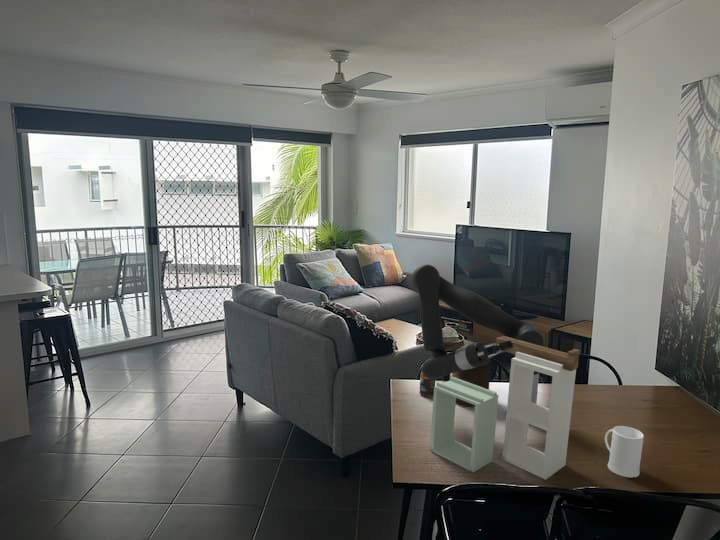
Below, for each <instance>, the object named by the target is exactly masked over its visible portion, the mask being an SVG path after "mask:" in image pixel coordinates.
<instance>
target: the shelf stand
mask: <svg viewBox="0 0 720 540" xmlns="http://www.w3.org/2000/svg"><path fill="white" fill-rule="evenodd" d="M510 362H511V363H510V371H509V372H510V374H509V383H508V384H509V385H508V395H507V403H506V404H507V406H506V418H505V427H504V429H505V430H504V437H503V439H504V440H503V449H502V457H501V458H502V459H501V460H503V461H504V462H507V463H509V464H511V465H512V466H516V467H517V468H520V469H522V470H523V471H527V473H530V474H532V475H534V476H536V477H539V478H540V479H543V480H545V481H546V480H548V479H549V478H551V476H553V475H554V474H556V473H557V472H559V470H561V469H563V467H565V466H566V463H567V453H568V444H569V435H570V427H571V419H572V411H573V409H572V408H573V399H574V393H575V383H576V382H575V381H576V376H577V375H576V374H577V369H575V370H573V371H568V370H565V369H563V365H562V364H559V363H556V362H552V361H549V360H545V359H542V358H538V357H535V356H531V355H528V354H524V353H521V352H516V354H515V355H514V357H512V358H511V361H510ZM534 371H537V372H539V374H540V373H541V374H543V375H546V376H547V375H548V376H550V377H552V378H551V379H552V380H551V387H550V388H551V389H550V397H549V407H545V406H543V405H540V404H538V403H536V404H535V403H532V402H531V396H532V386H533V376H534ZM529 425H531V426H534V427H536V428H538V429H541V430H543V431H546V437H545V445H544V451H540V450H538V449H536V448H533V447H531V446H529V445H527V444H528V435H529Z"/></svg>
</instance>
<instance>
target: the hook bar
mask: <svg viewBox="0 0 720 540" xmlns="http://www.w3.org/2000/svg"><path fill="white" fill-rule="evenodd" d="M509 340H510V341H511V342H512V345H513V347H512V348H509V349H506V350H503V351H504V352H503V353H508V354H512V355H514V356H515V354H516V352H521V353H524V354H528V355H531V356H535V357H538V358H542V359H545V360H549V361H552V362H556V363H559V364H562V365H563V369H565V370H568V371H573V370H575V369H576V370H577V369H578V367H579V359H580V351H581V350H580V349H578V348H577V349H576V348H573V349H571V350H568V351H567V352H564V351H561V350H558V349H553V348H550V347H547V346H544V347H543V346H539V345H535V344H532V343H528V342H524V341H521V340H517V339H513V338H510V337H506V336H504V335H502V336H499V337H496V339H495V343H496V344H497V343H498V344H499V343H503V342H506V341H509ZM501 350H502V349H501Z"/></svg>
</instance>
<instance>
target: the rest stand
mask: <svg viewBox="0 0 720 540" xmlns="http://www.w3.org/2000/svg"><path fill="white" fill-rule="evenodd" d="M432 397H433V399H432V414H431V416H432V417H431V427H430V429H431V430H430V443H429V444H430V446H429V450H430V452H432V453H434V454H436V455H438V456H440V457H442V458H443V459H446V460H448V461H449V462H452V463H454V464H455V465H458V466H460V467H462V468H463V469H465V470H467V471H470V472H471V473H475V472H477V471H478V470H480V469H482V468H483V467H485V466H486V465H488V464H490V463H492V462H493V460H494V449H495V447H494V446H495V438H496V428H497V427H496V426H497V417H498V416H497V414H498V405H499V403H498V402H499V394H498V393H497V392H496V391H494V390H490V389H489V390H488V389H485V388H483V387H480V386H477V385H474V384H472V383H469V382H466V381H463V380H461V379H458V378H455V377H450V376H449V380H447V381H445V382H440V381H437V382H435V386H434V396H432ZM456 398H458V399H461V400H463V401H466V402H468V403H471V404H473V405H475V407H474V414H473V415H474V416H473V427H472V429H473V430H472V440H471V446H470V447H469V446H467V445H465V444H463V443H461V442H459V441H457V440H455V439H454V431H455V430H454V428H455V416H456V405H457V404H456Z"/></svg>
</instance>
